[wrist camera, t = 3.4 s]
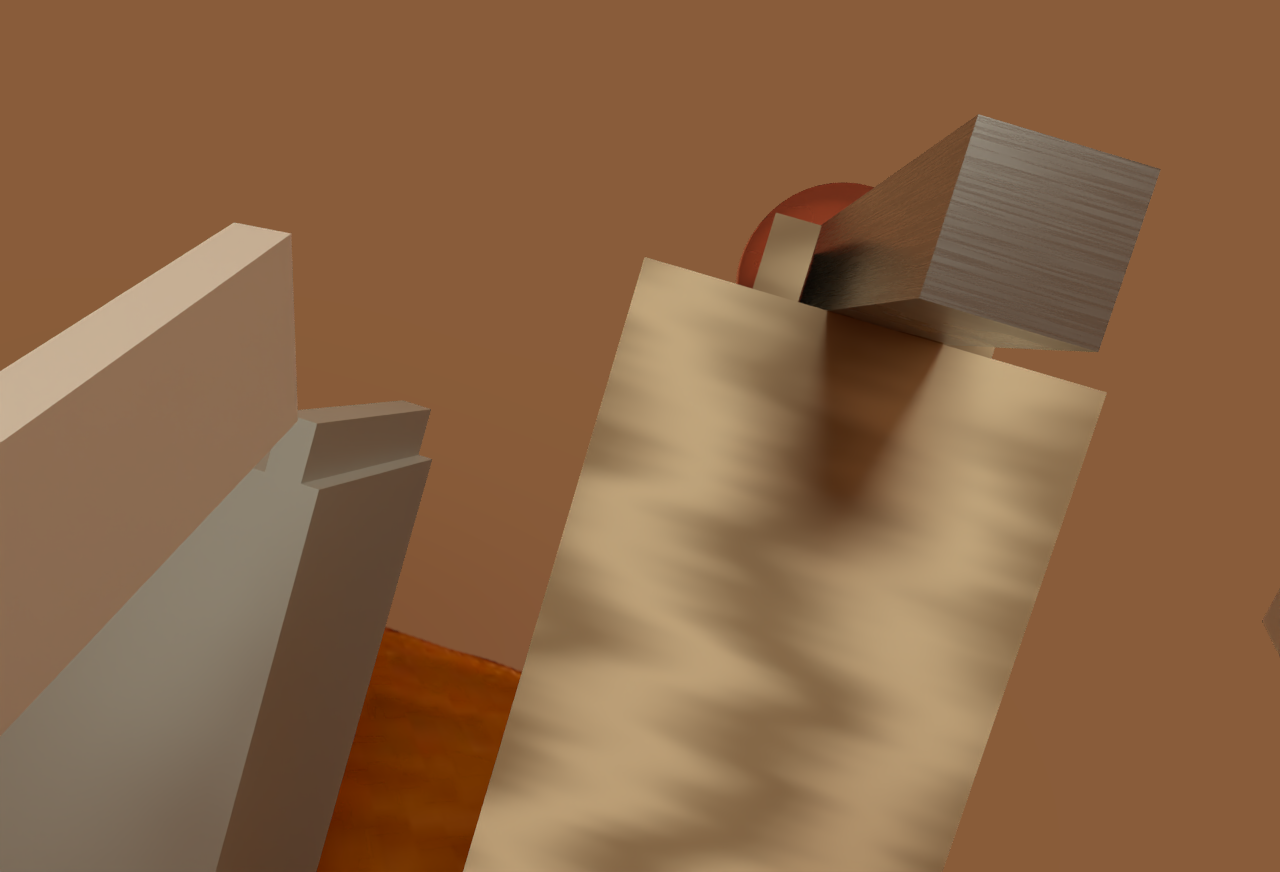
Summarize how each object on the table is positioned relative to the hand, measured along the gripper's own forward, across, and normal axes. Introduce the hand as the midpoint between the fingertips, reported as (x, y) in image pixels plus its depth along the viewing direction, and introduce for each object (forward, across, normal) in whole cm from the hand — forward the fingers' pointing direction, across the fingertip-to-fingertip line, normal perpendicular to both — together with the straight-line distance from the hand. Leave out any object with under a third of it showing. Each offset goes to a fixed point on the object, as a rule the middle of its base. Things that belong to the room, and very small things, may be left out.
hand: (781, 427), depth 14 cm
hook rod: (+14, +2, -6) cm, 15 cm away
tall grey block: (+4, -17, -31) cm, 35 cm away
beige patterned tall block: (+4, -1, -33) cm, 33 cm away
